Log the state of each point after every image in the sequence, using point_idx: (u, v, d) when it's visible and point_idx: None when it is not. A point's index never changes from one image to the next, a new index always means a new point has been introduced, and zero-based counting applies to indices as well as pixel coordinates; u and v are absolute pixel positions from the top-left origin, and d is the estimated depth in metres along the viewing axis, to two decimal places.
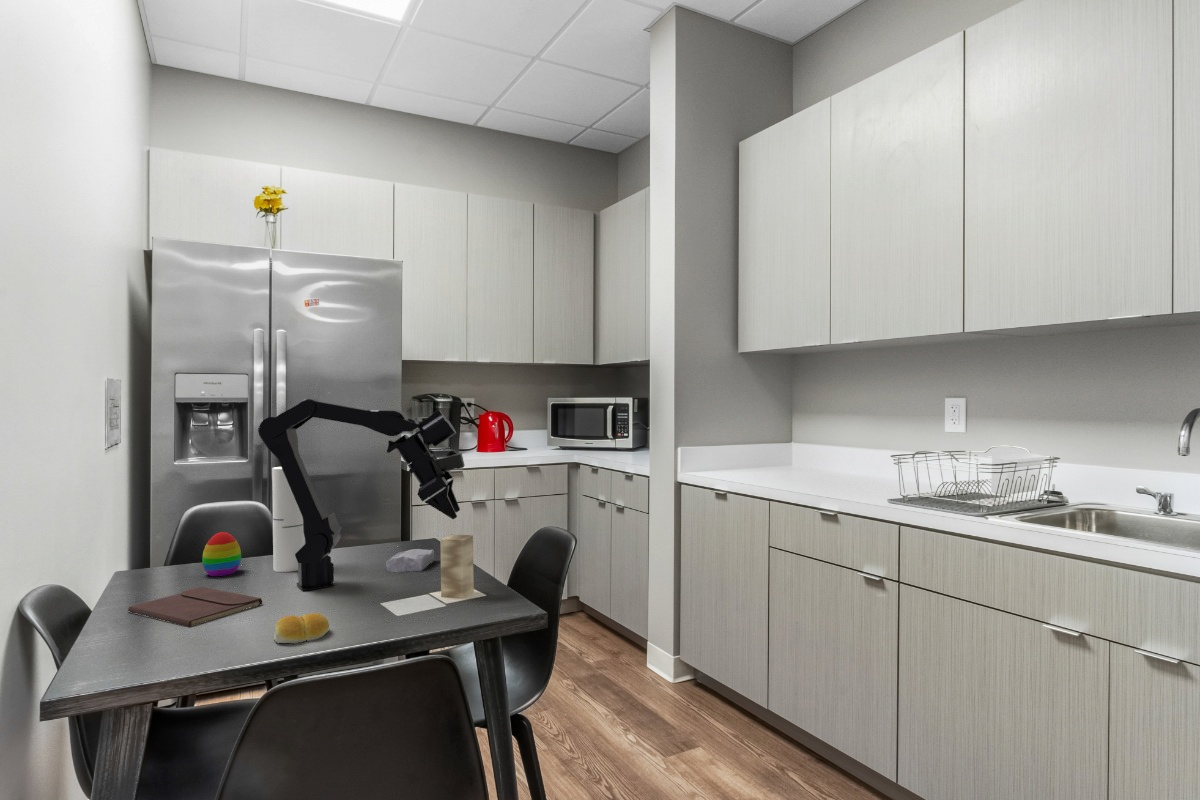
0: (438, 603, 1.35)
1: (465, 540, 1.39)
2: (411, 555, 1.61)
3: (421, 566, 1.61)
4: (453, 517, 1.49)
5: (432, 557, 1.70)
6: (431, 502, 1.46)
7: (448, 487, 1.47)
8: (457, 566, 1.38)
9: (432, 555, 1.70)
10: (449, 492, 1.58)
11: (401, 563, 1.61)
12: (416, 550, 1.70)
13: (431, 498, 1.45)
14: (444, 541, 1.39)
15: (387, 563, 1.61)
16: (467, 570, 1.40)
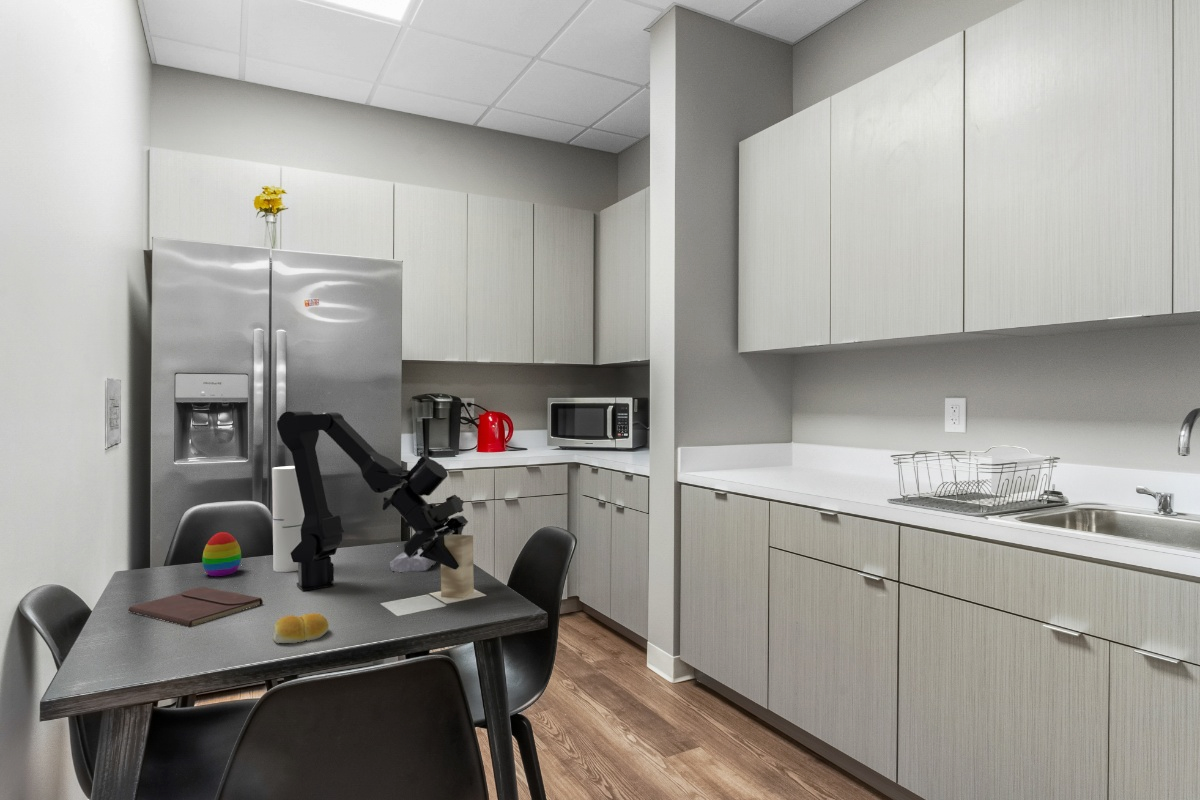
0: (438, 603, 1.35)
1: (465, 540, 1.39)
2: (416, 555, 1.61)
3: (426, 566, 1.61)
4: (455, 567, 1.38)
5: None
6: (427, 555, 1.37)
7: (440, 536, 1.36)
8: None
9: None
10: None
11: (405, 563, 1.61)
12: (420, 550, 1.70)
13: (423, 551, 1.36)
14: (444, 541, 1.39)
15: (391, 563, 1.61)
16: (467, 570, 1.40)
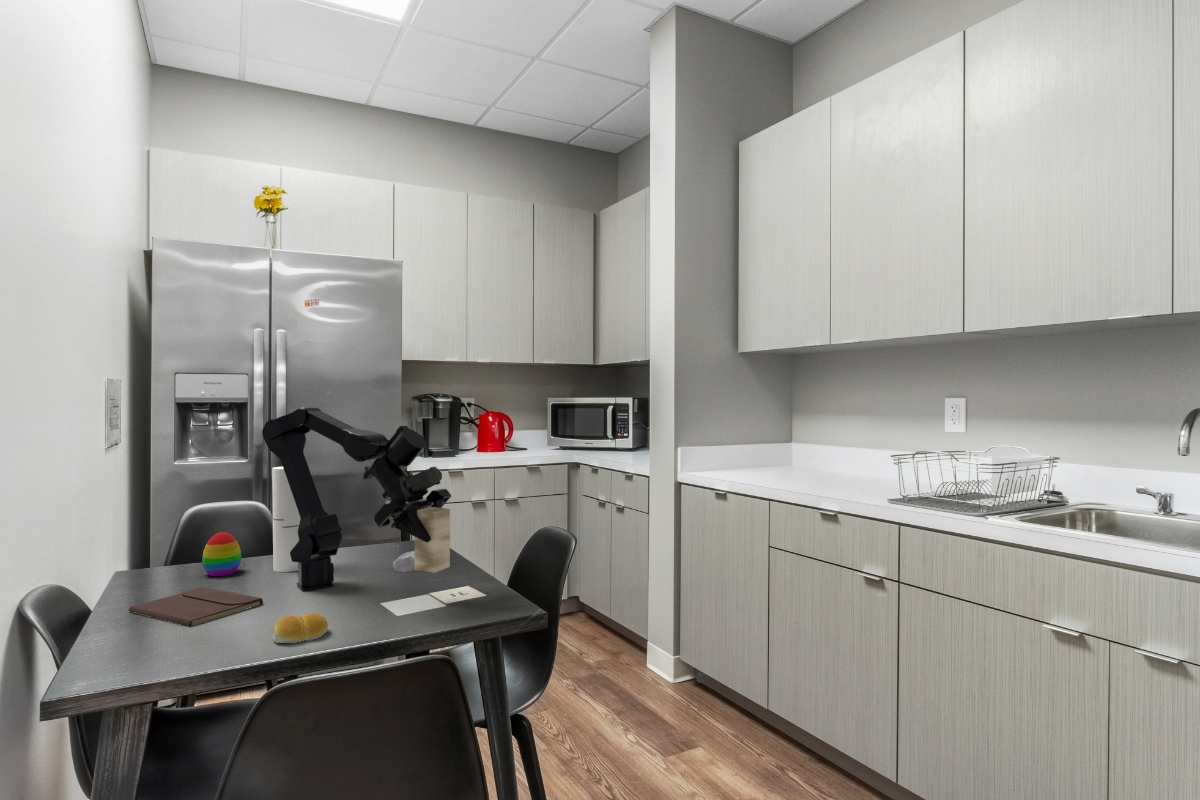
0: (438, 603, 1.35)
1: (439, 513, 1.35)
2: None
3: None
4: (426, 540, 1.34)
5: None
6: (400, 526, 1.34)
7: (411, 508, 1.33)
8: None
9: None
10: None
11: (408, 563, 1.61)
12: None
13: (394, 521, 1.33)
14: (418, 513, 1.35)
15: (394, 563, 1.61)
16: (441, 544, 1.35)
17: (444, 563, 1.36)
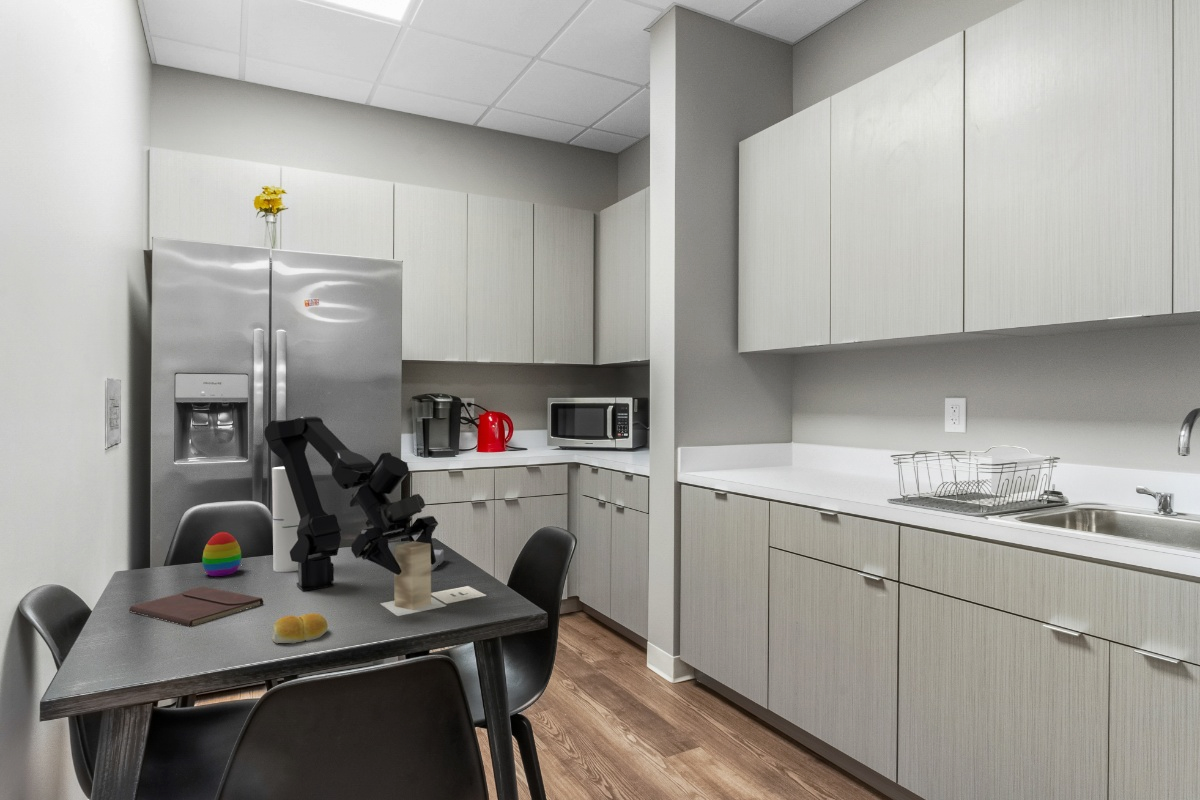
0: (438, 603, 1.35)
1: (417, 548, 1.32)
2: None
3: (432, 566, 1.61)
4: (397, 573, 1.29)
5: (442, 558, 1.70)
6: (371, 557, 1.30)
7: (381, 539, 1.29)
8: (408, 575, 1.31)
9: (442, 555, 1.70)
10: (424, 542, 1.39)
11: None
12: None
13: (365, 553, 1.29)
14: (397, 549, 1.33)
15: None
16: (420, 580, 1.32)
17: (424, 600, 1.33)
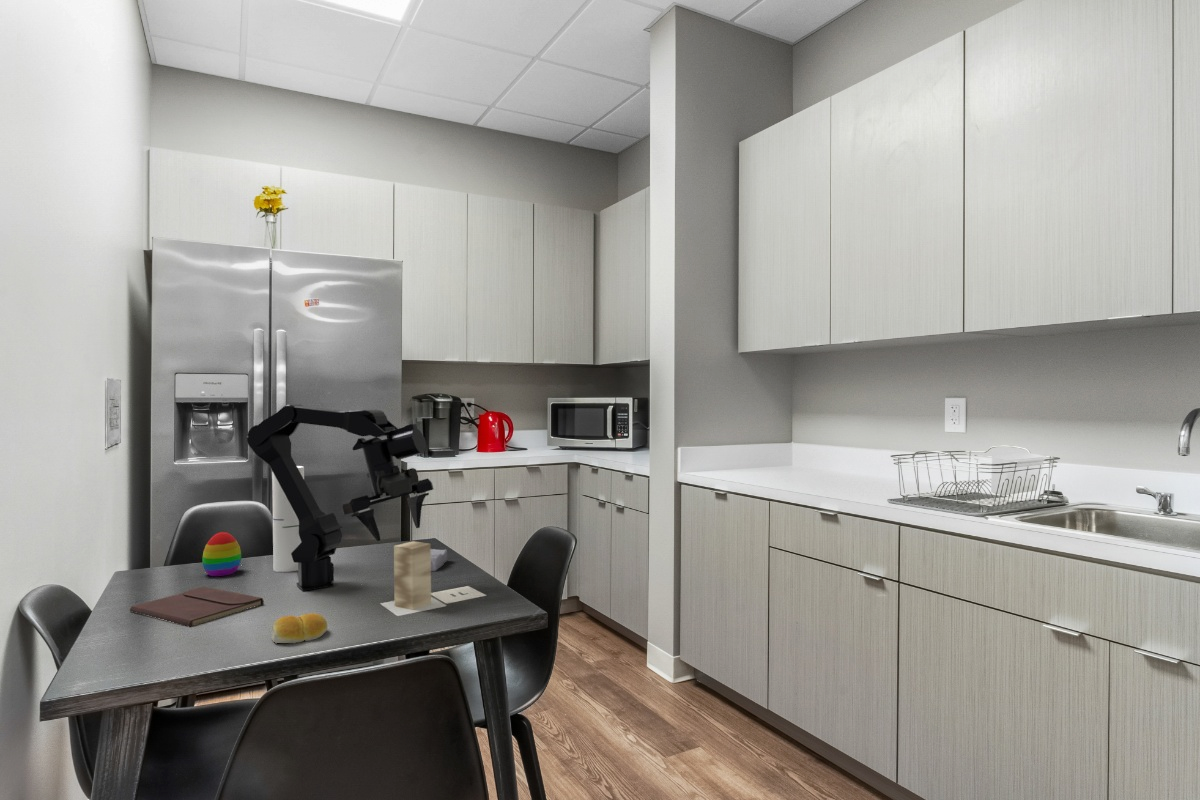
0: (438, 603, 1.35)
1: (417, 548, 1.32)
2: None
3: (435, 566, 1.61)
4: (376, 539, 1.43)
5: (445, 558, 1.70)
6: (359, 517, 1.43)
7: (366, 512, 1.40)
8: (408, 575, 1.31)
9: (445, 555, 1.69)
10: (414, 505, 1.49)
11: None
12: None
13: (353, 514, 1.42)
14: (397, 549, 1.33)
15: None
16: (420, 580, 1.32)
17: (424, 600, 1.33)
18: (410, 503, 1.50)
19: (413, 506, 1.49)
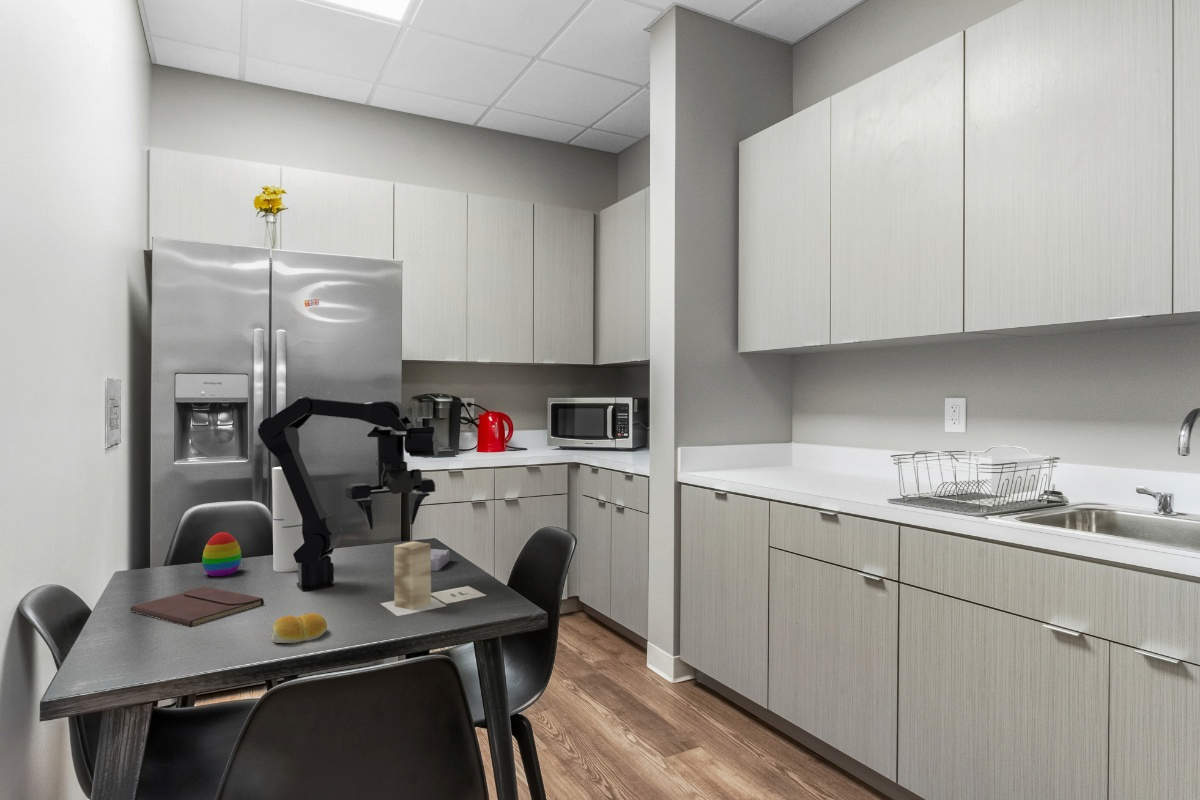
0: (438, 603, 1.35)
1: (417, 548, 1.32)
2: None
3: (438, 566, 1.61)
4: (369, 527, 1.47)
5: (448, 558, 1.70)
6: None
7: (365, 501, 1.43)
8: (408, 575, 1.31)
9: (448, 555, 1.69)
10: (413, 502, 1.52)
11: None
12: (431, 550, 1.70)
13: (352, 499, 1.46)
14: (397, 549, 1.33)
15: None
16: (420, 580, 1.32)
17: (424, 600, 1.33)
18: (410, 498, 1.54)
19: (412, 502, 1.53)
